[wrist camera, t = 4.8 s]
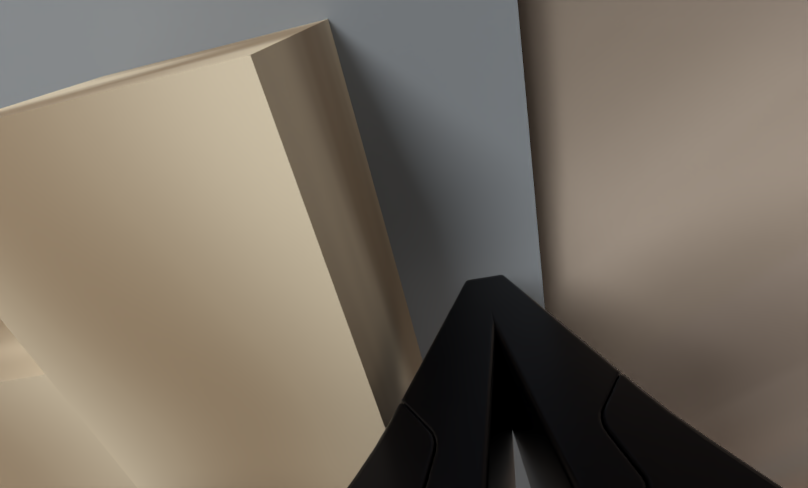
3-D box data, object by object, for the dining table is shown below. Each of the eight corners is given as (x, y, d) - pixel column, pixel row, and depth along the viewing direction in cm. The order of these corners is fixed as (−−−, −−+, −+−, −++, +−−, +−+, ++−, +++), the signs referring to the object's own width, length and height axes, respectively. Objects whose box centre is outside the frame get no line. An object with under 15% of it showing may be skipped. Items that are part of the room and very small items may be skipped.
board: (470, -374, 6) (490, -514, 4) (554, 480, 15) (572, 547, 13) (-649, 9, 9) (-912, 17, 7) (-26, 541, 17) (-75, 604, 16)
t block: (328, 18, 8) (250, 54, 4) (442, 433, 12) (452, 613, 9) (-93, 126, 9) (-443, 228, 5) (163, 469, 13) (73, 643, 10)
